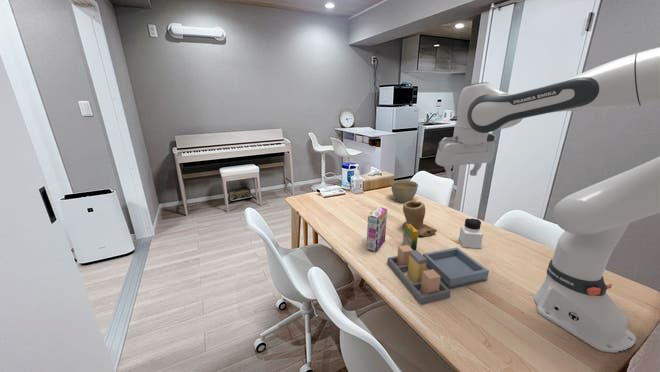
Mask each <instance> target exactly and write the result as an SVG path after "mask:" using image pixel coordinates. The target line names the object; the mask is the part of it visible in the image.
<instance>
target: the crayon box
mask: <svg viewBox="0 0 660 372" xmlns="http://www.w3.org/2000/svg"><path fill="white" fill-rule="evenodd" d="M404 223H405V225H404V228H403V235H402V236H403V238H402V246H404V245H408V246H409V247H410V248H411V249H412V250H413V251H415V250H418V249H417V248H418V247H417V246H418V238H419V235H418V231H417V230H416V229H415V228H414V227H413V226H412V225H411V224H408V223H407V222H406V220H404Z"/></svg>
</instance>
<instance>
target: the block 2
mask: <svg viewBox="0 0 660 372" xmlns="http://www.w3.org/2000/svg"><path fill="white" fill-rule="evenodd" d="M440 278H441V276H440V275H439V274H438V273H437V272H435V271H434V270H433V269H431V270H427V271H423V272H422V281H421V289H420V290H419V292H420V293H421V295H427V294H431V293H435V292H439V291H440V290H439V285H440V281H441V280H440Z"/></svg>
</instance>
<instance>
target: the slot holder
mask: <svg viewBox="0 0 660 372" xmlns="http://www.w3.org/2000/svg"><path fill="white" fill-rule="evenodd" d="M397 258H398V255H395V256H391V257H387V261H386V262H387V265H388V266H389V267H390V268H391V270H392V271H393V272H394V273H395V275H396V276H397V277H398V279H399V280H400V281H401V282H402V283H403V284H404V286H405V287H406V289H407V290H409V292H410V293H411V295H412V296H413V297H414V299H415V300H416V301H417V302H418V303H419V304H420V305H425V304H429V303H433V302H436V301H441V300H445V299H449V298H451V292H452V291H451V290H450V289H449V288H448V287H447V286H446V285H445V284H444V283H443V282H442V281H441V280H440V285H439V292H435V293H431V294H427V295H423V294H422V292H421V291H420V289H421V282H416V283H414V282H412V281H410V279H409V277H407V276H406V275H405V274H404V273H408V265H409V264H406V265H401V266H398V264H397ZM427 270H429V269H428V268H427V267H426V271H427Z"/></svg>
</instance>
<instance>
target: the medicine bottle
mask: <svg viewBox="0 0 660 372" xmlns="http://www.w3.org/2000/svg"><path fill="white" fill-rule="evenodd" d="M481 225H482V221H481V220H480V219H478V218H476V217H466V218H465V221H464V225H461V226H460V229H459V236H458V241H459V242H460V244H461V246H462V247H463V248H468V249H470V248H471V249H478V250H479V249H481V246H482V241H483V236H484V235H483V233H482V231H481Z"/></svg>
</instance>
